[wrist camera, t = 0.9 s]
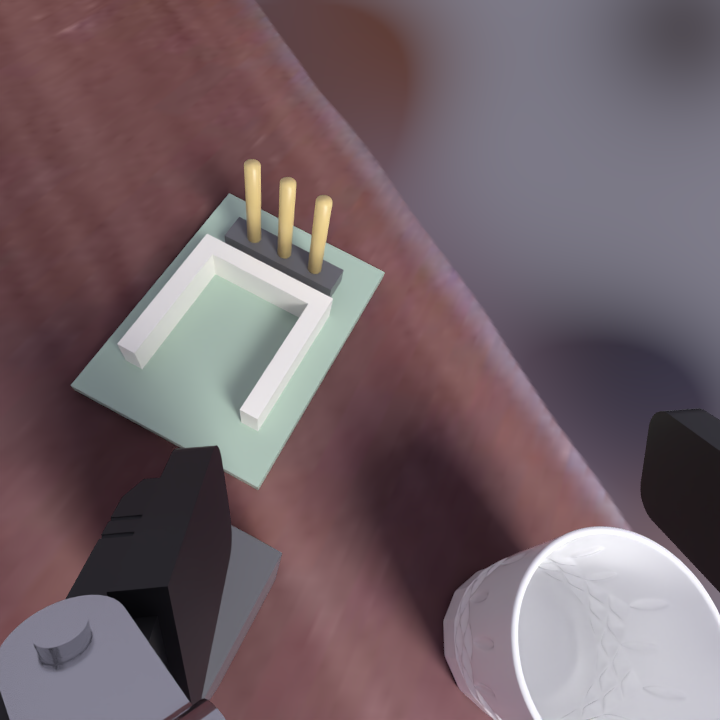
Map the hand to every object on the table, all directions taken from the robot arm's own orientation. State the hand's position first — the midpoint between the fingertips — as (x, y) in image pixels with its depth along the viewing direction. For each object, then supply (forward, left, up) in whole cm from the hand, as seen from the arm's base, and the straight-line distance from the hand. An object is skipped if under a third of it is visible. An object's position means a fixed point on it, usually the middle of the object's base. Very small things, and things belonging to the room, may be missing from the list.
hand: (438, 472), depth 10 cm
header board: (-14, +1, -19) cm, 24 cm away
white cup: (+7, +6, -20) cm, 22 cm away
